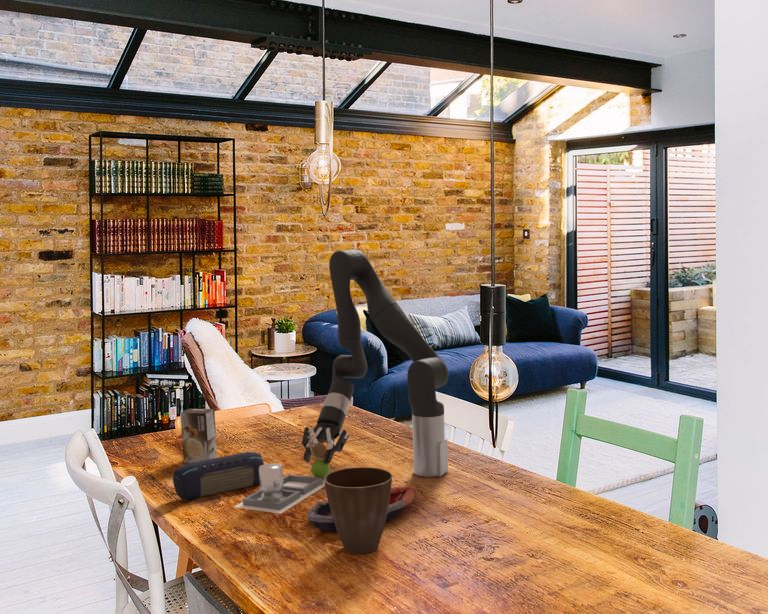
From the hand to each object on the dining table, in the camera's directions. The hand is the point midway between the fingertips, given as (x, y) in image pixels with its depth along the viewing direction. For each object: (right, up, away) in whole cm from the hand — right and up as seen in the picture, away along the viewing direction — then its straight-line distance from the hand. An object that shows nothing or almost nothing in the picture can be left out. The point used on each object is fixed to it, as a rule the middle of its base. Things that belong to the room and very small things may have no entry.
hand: (316, 461), depth 218 cm
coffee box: (-39, -5, +24) cm, 46 cm away
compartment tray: (-7, -7, -15) cm, 18 cm away
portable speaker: (-25, -7, -8) cm, 27 cm away
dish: (+15, -8, -30) cm, 35 cm away
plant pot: (+14, -9, -49) cm, 52 cm away
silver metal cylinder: (-9, -6, -21) cm, 24 cm away
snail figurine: (+1, -5, +2) cm, 6 cm away
